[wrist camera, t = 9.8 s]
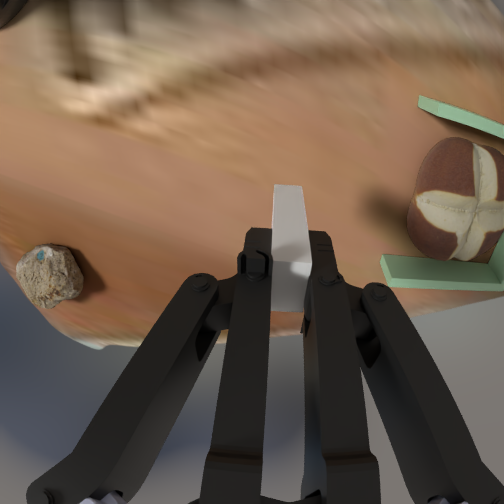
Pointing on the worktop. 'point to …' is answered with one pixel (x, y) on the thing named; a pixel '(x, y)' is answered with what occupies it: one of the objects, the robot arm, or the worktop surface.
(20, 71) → the worktop surface
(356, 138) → the worktop surface
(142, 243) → the worktop surface
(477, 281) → the mint green tray
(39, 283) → the rock
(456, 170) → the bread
